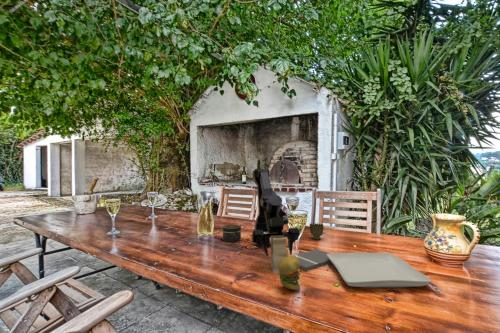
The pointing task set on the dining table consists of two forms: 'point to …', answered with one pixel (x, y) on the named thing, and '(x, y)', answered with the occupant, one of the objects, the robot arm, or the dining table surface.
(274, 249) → the birch post
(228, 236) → the jar
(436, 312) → the dining table surface
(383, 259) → the square plate
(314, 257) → the charcoal board
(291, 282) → the hamburger
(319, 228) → the cup
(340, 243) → the dining table surface
